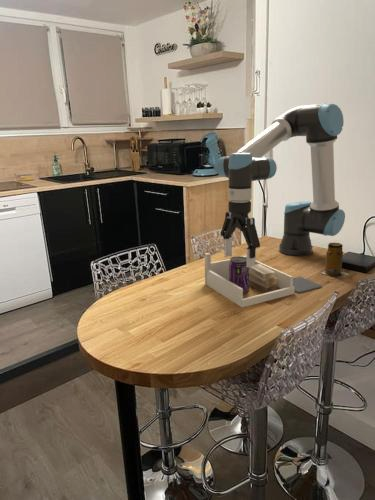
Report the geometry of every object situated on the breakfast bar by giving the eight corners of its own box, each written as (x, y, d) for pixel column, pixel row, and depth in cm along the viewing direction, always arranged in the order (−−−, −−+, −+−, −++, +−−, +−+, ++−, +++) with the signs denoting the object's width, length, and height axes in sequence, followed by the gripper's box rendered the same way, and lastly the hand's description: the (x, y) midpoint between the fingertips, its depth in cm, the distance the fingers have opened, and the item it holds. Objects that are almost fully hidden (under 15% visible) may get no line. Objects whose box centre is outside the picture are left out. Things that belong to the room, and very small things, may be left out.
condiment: (330, 269, 156) (332, 240, 153) (349, 274, 150) (352, 245, 146) (319, 273, 152) (322, 244, 148) (339, 279, 145) (342, 248, 142)
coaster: (300, 277, 147) (300, 276, 147) (321, 287, 138) (322, 285, 138) (277, 283, 143) (277, 281, 143) (298, 293, 133) (298, 291, 133)
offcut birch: (259, 269, 145) (259, 263, 144) (274, 278, 136) (275, 272, 135) (248, 271, 143) (248, 265, 142) (263, 280, 134) (263, 274, 134)
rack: (252, 273, 154) (253, 244, 150) (294, 293, 133) (296, 261, 130) (205, 283, 144) (204, 253, 141) (241, 307, 124) (242, 272, 120)
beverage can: (242, 296, 132) (243, 263, 129) (224, 292, 136) (225, 260, 133) (252, 289, 138) (253, 258, 134) (235, 285, 142) (235, 254, 138)
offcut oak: (255, 275, 146) (256, 269, 145) (277, 284, 137) (277, 278, 136) (245, 278, 143) (246, 272, 142) (266, 287, 134) (266, 281, 134)
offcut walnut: (254, 280, 147) (254, 275, 147) (275, 291, 137) (276, 284, 137) (244, 283, 145) (244, 277, 144) (265, 294, 135) (265, 287, 134)
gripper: (211, 197, 137) (211, 253, 143) (253, 207, 115) (251, 273, 121) (228, 195, 140) (228, 250, 146) (272, 204, 119) (270, 269, 125)
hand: (238, 261), depth 134 cm, fingers open, 13 cm apart
